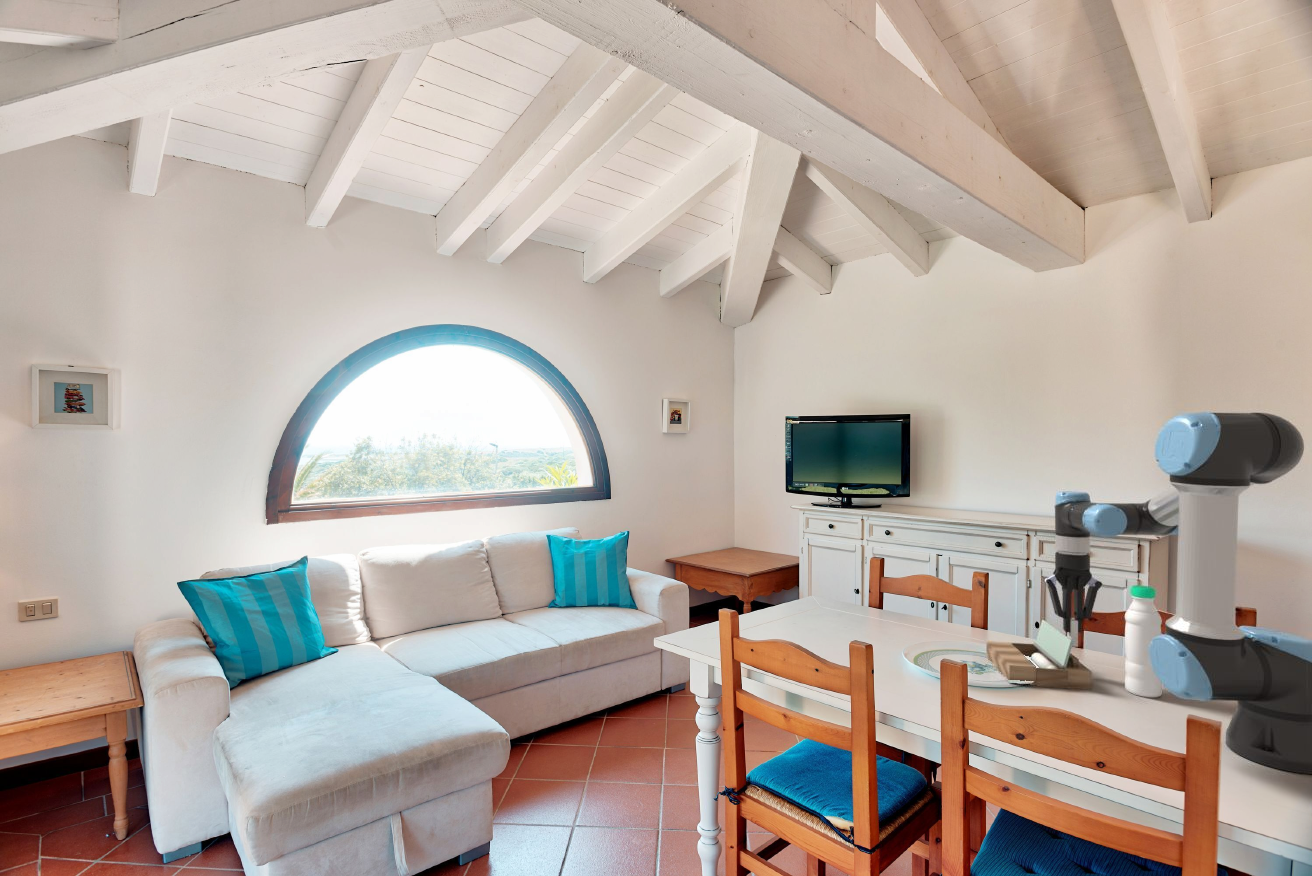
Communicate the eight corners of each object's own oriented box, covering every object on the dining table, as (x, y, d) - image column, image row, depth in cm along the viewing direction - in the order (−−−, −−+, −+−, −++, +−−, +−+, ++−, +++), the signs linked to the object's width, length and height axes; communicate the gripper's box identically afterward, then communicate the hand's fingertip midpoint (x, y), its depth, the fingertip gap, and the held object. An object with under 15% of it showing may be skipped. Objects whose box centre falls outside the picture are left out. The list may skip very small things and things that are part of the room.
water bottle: (1168, 699, 152) (1168, 590, 153) (1133, 697, 154) (1133, 589, 154) (1152, 688, 159) (1151, 584, 159) (1119, 686, 161) (1118, 583, 161)
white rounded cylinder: (1059, 681, 163) (1062, 669, 163) (1046, 678, 164) (1048, 666, 164) (1040, 663, 176) (1042, 652, 176) (1028, 661, 177) (1030, 650, 177)
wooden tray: (1092, 690, 158) (1092, 663, 158) (1010, 684, 162) (1010, 658, 162) (1058, 661, 179) (1058, 638, 179) (985, 656, 183) (985, 634, 183)
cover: (1060, 669, 161) (1064, 670, 161) (1068, 639, 160) (1073, 641, 160) (1032, 645, 179) (1036, 646, 179) (1040, 619, 179) (1044, 620, 179)
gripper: (1094, 550, 171) (1094, 642, 171) (1039, 549, 174) (1039, 639, 174) (1107, 555, 164) (1107, 651, 164) (1049, 553, 167) (1049, 647, 167)
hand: (1072, 645), depth 169 cm, fingers closed
